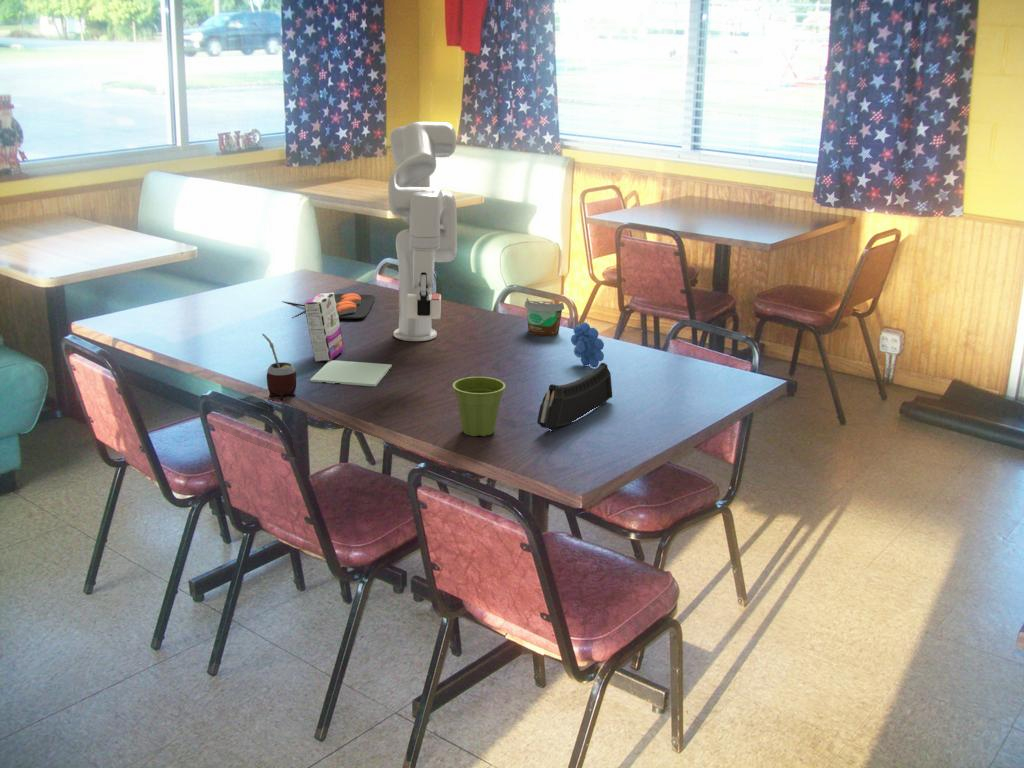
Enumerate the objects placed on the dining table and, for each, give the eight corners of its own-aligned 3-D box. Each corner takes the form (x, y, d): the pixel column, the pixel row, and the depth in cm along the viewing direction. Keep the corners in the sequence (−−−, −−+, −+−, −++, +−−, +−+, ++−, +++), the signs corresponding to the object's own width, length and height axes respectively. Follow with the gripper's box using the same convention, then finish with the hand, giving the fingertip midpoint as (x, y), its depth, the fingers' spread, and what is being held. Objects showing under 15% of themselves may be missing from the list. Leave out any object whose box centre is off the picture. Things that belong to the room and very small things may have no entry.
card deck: (407, 312, 282) (407, 292, 280) (440, 313, 282) (440, 293, 280) (406, 318, 276) (406, 298, 275) (440, 319, 277) (440, 299, 275)
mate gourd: (296, 401, 263) (294, 341, 258) (263, 401, 261) (260, 342, 257) (297, 391, 270) (295, 332, 265) (264, 391, 268) (262, 333, 264)
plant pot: (461, 419, 254) (462, 373, 251) (510, 426, 251) (512, 380, 247) (444, 436, 243) (445, 389, 240) (494, 444, 240) (496, 396, 237)
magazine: (607, 362, 270) (549, 355, 245) (619, 365, 269) (561, 358, 243) (594, 430, 272) (534, 429, 246) (605, 433, 270) (546, 433, 244)
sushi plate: (364, 323, 333) (364, 311, 332) (266, 320, 333) (266, 308, 332) (377, 300, 360) (376, 289, 359) (286, 297, 360) (286, 286, 359)
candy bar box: (328, 350, 303) (318, 293, 298) (345, 349, 302) (335, 292, 297) (313, 362, 292) (303, 302, 288) (330, 361, 291) (320, 301, 287)
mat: (330, 362, 293) (330, 360, 293) (391, 366, 291) (391, 364, 291) (310, 381, 277) (310, 379, 277) (375, 386, 275) (375, 384, 275)
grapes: (559, 363, 298) (561, 321, 294) (576, 359, 303) (578, 317, 299) (591, 374, 290) (594, 330, 286) (608, 369, 295) (610, 326, 291)
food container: (517, 334, 325) (518, 301, 322) (524, 329, 330) (526, 297, 327) (556, 339, 321) (557, 306, 318) (563, 334, 326) (564, 302, 323)
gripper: (411, 235, 281) (410, 303, 287) (407, 248, 265) (407, 320, 271) (440, 236, 281) (439, 304, 287) (438, 249, 265) (438, 321, 271)
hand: (424, 311), depth 279 cm, fingers closed on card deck, 5 cm apart
